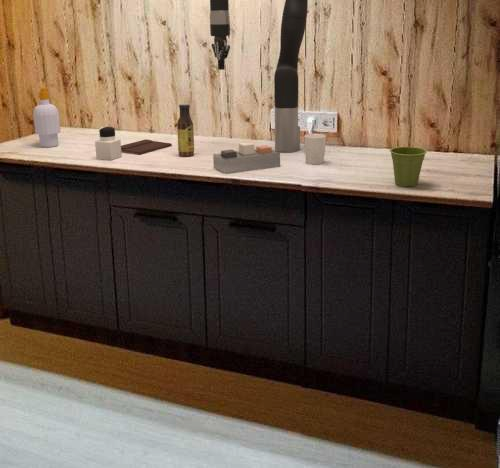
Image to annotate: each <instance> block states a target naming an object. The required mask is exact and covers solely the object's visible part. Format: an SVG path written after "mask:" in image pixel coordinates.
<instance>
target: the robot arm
mask: <svg viewBox="0 0 500 468" xmlns="http://www.w3.org/2000/svg"><path fill="white" fill-rule="evenodd" d="M308 4H309V3H308V0H285V2H284V6H283V11H282V16H281V17H282V18H281V24H280V36H279V37H280V40H279V41H280V47H279V48H280V49H279V50H280V51H279V56H278V59H277V60H278V61H277V65H276V69H275V71H274V74H273V75H274V81H273V83H274V84H273V85H274V87H273V88H274V89H273V90H274V92H273V93H274V94H273V95H274V101H273V102H274V151H277V152H279V153H294V152H297V151H300V150H301V126H300V125H299V72H298V69H299V68H298V66H299V65H298V64H299V53H300V49H301V47H302V42H303V39H304V35H305V31H306V25H307V18H308V8H309V7H308V6H309V5H308ZM209 6H210V7H209V8H210V9H209V11H210V12H209V30H210V34H209V35H210V36H211V37H214V39H213V43H211V48H212V52H213V55H214V57H215V58H216V60H217V69H218V70H219V71H221V70H223V71H224V70H225V69H226V68H225V67H226V66H225V60H226V59H227V58H228V55H229V52H230V49H231V45H229V44H228V39H227V37H229V36H230V35H231V20H230V19H231V18H230V16H231V15H230V10H229V9H230V8H229V7H230V5H229V0H209Z"/></svg>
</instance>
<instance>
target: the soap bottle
mask: <svg viewBox="0 0 500 468" xmlns="http://www.w3.org/2000/svg"><path fill="white" fill-rule="evenodd" d="M47 89H50V87H49V86H48V87H47V86H46V87H40V90H39V92H38V95H39V104H37V105H36V106H35V107H34V108H33V113H32V117H33V125H34V131H35V132H34V133H35V135H38V139H39V146H40V147H41V148H54V147H57V146H59V144H60V143H59V135H58V134H59V133H61V121H60V113H59V110H58V108H57V106H55V105H54V104H52V103H50V97H49V91H47Z"/></svg>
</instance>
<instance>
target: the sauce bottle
mask: <svg viewBox="0 0 500 468" xmlns="http://www.w3.org/2000/svg"><path fill="white" fill-rule="evenodd" d="M190 106H191V105H190V103H180V104H179V105H178V109H179V118H178V119H177V123H176V124H177V125H176V126H177V150H178V155H179V156H180V157H191V156H194V155H195V140H194V139H195V136H194V133H195V132H194V123H193V119H192V118H191V114H190V108H191V107H190Z"/></svg>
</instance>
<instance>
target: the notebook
mask: <svg viewBox="0 0 500 468" xmlns="http://www.w3.org/2000/svg"><path fill="white" fill-rule="evenodd" d="M172 146H173V144H172V143H171V142H164V141H156V140H151V139H147V138H146V139H142V140H138V141H134V142H131V143H125V144H123V145H122V144H121V154H123V153H124V154H128V155H137V156H141V155H145V154H148V153H151V152H152V153H153V152H155V151H160V150H163V149H166V148H169V147H172Z"/></svg>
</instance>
